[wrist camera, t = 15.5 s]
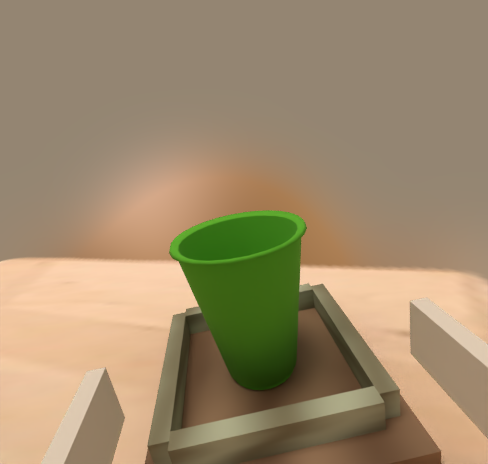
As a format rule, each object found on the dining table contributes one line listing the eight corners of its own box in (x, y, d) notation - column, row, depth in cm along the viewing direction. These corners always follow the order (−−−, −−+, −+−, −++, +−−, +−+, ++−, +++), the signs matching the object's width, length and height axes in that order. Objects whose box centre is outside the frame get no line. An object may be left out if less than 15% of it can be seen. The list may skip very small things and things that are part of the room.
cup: (350, 368, 23) (337, 223, 20) (240, 443, 19) (199, 278, 16) (276, 316, 31) (258, 204, 27) (187, 361, 27) (152, 238, 23)
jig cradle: (140, 539, 17) (121, 496, 16) (175, 330, 34) (167, 303, 33) (440, 467, 17) (441, 422, 16) (325, 298, 34) (322, 271, 33)
